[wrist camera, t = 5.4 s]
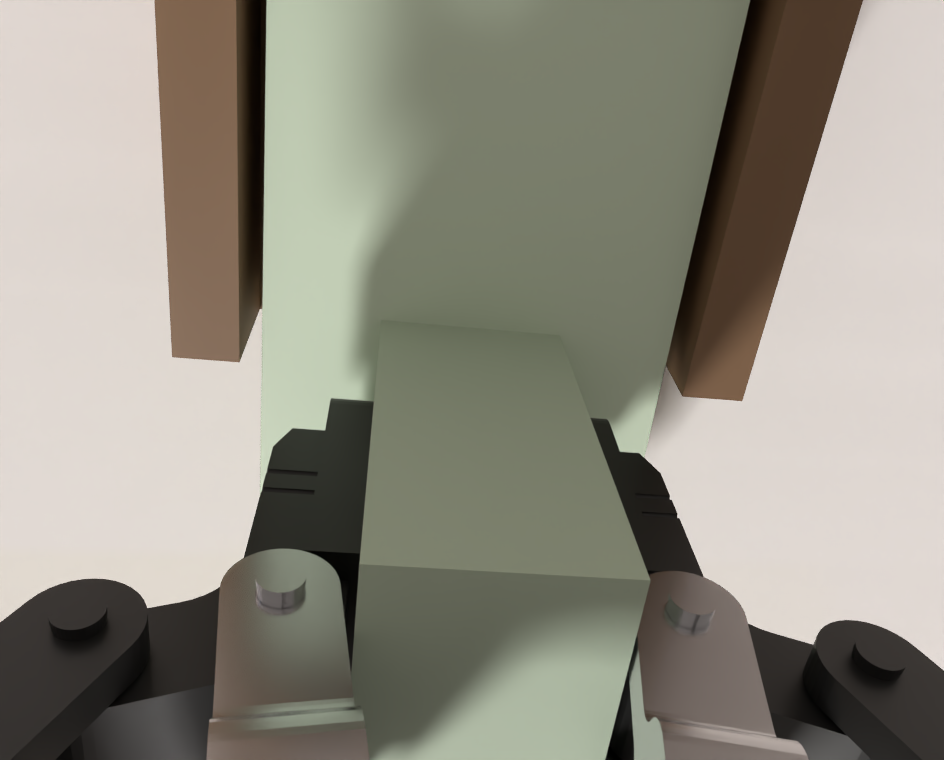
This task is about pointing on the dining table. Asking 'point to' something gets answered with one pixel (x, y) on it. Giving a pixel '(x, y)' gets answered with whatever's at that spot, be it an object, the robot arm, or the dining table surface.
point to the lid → (486, 330)
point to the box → (719, 229)
